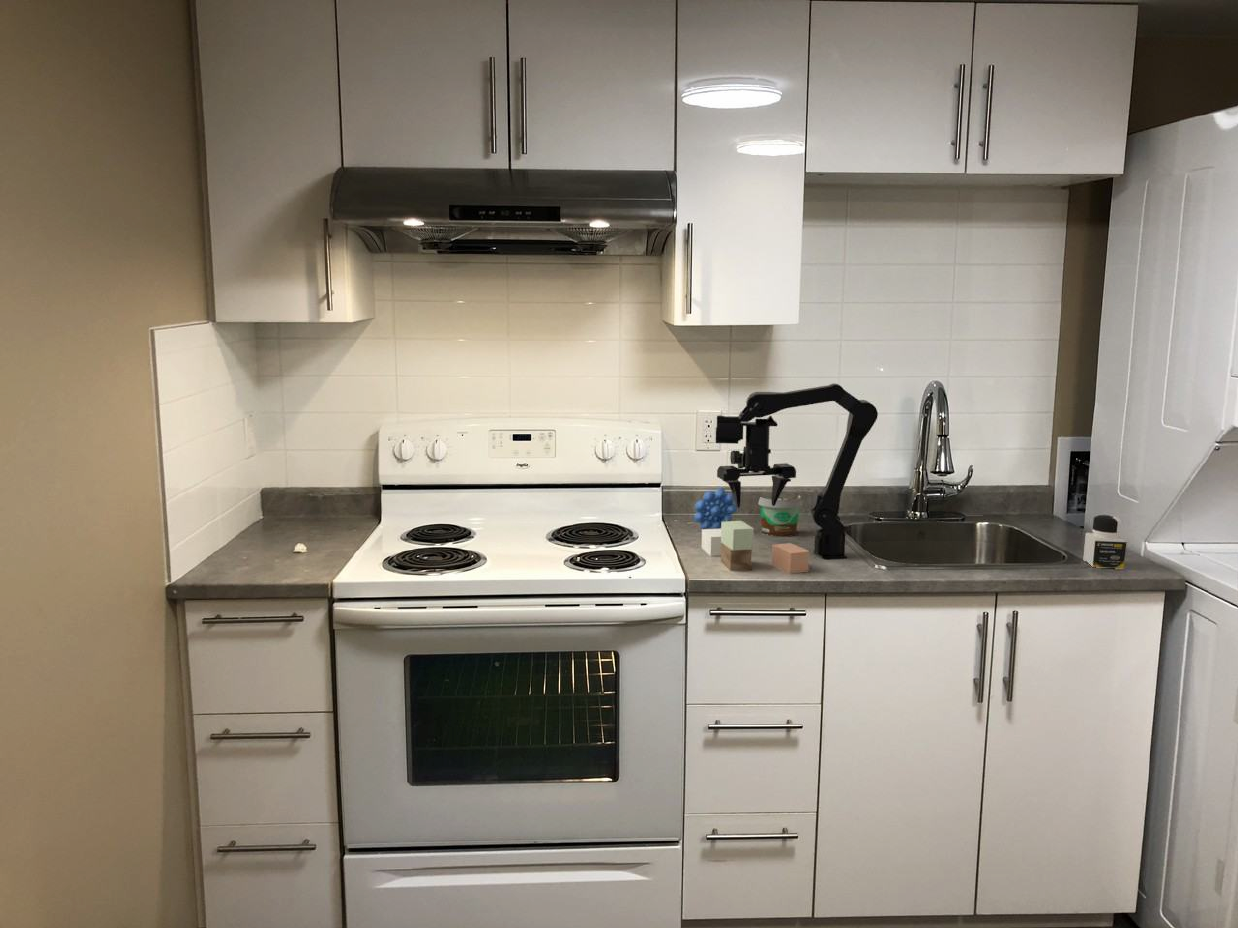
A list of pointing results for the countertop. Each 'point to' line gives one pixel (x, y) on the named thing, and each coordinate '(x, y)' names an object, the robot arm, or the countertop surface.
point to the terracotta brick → (790, 558)
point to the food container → (780, 516)
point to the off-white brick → (711, 541)
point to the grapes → (714, 509)
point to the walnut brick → (736, 558)
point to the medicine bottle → (1105, 543)
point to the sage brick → (737, 535)
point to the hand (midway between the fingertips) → (755, 506)
